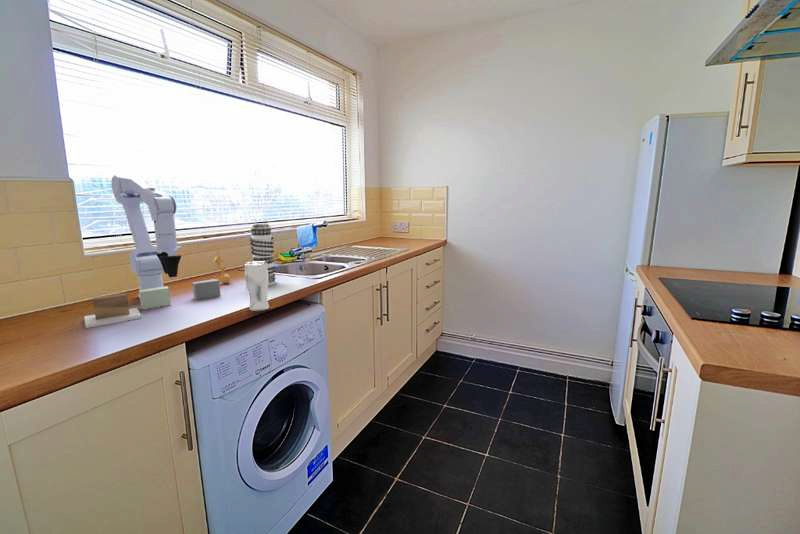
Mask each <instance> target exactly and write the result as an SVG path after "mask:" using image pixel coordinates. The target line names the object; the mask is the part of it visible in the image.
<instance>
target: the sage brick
mask: <svg viewBox="0 0 800 534" xmlns="http://www.w3.org/2000/svg"><path fill="white" fill-rule="evenodd" d="M138 295H140V298H139V300H140V308H141V310H142V309H145V310H148V308H151V309H154V308H153V307H157V308H161V307H160V306H163V307H167V305H169V306H172V303H171V295H170V288H169V286H166V285H165V286H163V287H158V288H151V289H143V290H140V289H139V290H138Z"/></svg>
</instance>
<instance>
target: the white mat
mask: <svg viewBox="0 0 800 534" xmlns="http://www.w3.org/2000/svg"><path fill="white" fill-rule="evenodd" d="M129 313H130V314H129V315H123V316H117V317H111V318H105V319H98V320H96V317H95V314H92V315H91V314H90V315H85V316H84V326H85V329H89V328H94V327H100V326H106V325H112V324H115V323H121V322H122V323H123V322H128V320H129V321H134V320H139V318H140V319H142V315H141V313H140V311H139V309H138V308H137V307H134V308H133V307H132V308H129Z"/></svg>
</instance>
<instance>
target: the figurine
mask: <svg viewBox="0 0 800 534" xmlns="http://www.w3.org/2000/svg"><path fill="white" fill-rule="evenodd" d="M213 259H214V260H213V261H212V263H213V266H214V268H215V269H218V268H219V269H220V274H221V276H220V279H219V280H220V282H221V283H222V284H224V285H226V284H229V283H231V279H232V278H231V277H232V276H230V275H229V274H227V273H225V269H226V266H228V265H227V263H226V261H224V260H223V259H222V257H221V255H220V254H219V255H217V256H215V257H213ZM221 262H222V263H224V264H225V266H224V265H223V264H222V263H221ZM216 265H217V266H216Z"/></svg>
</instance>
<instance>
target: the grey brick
mask: <svg viewBox="0 0 800 534" xmlns="http://www.w3.org/2000/svg"><path fill="white" fill-rule="evenodd" d="M219 280H220V279H218V278H213V279H206V280H199V281H198V280H197V281H194V282H193V281H192V282H191V285H192V293H193V299H194V298H195V299H194V300H195V301H199V299H200V300H206V299H213V298H217V297H221V289H220V287H221V286H220V281H219ZM205 298H206V299H205Z"/></svg>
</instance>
